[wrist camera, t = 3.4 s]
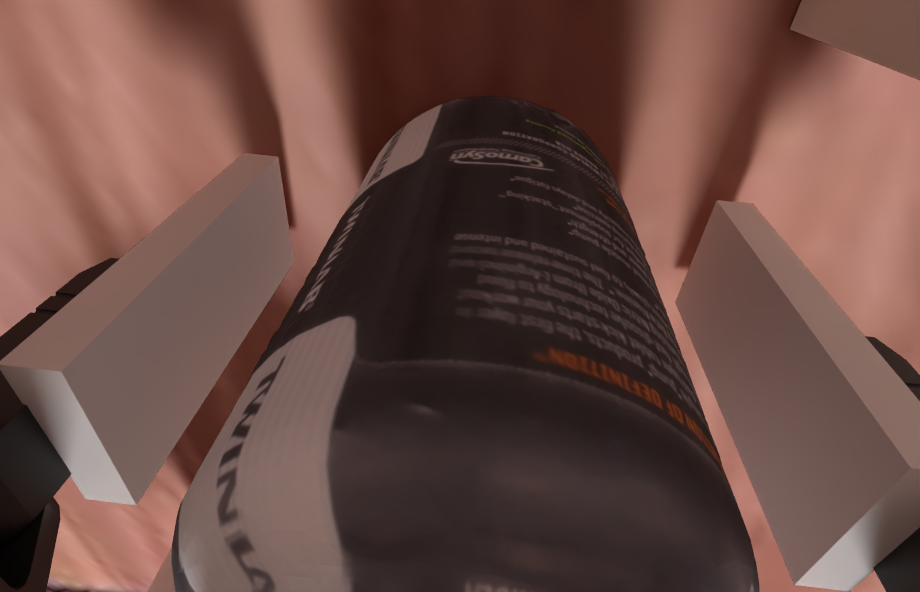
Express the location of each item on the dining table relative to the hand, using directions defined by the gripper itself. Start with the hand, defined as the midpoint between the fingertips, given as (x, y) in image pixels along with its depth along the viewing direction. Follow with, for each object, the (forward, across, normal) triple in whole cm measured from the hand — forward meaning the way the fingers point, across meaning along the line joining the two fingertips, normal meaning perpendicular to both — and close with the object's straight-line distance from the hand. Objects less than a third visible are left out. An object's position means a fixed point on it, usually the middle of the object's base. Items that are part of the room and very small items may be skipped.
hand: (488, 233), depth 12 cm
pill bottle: (+1, 0, 0) cm, 1 cm away
